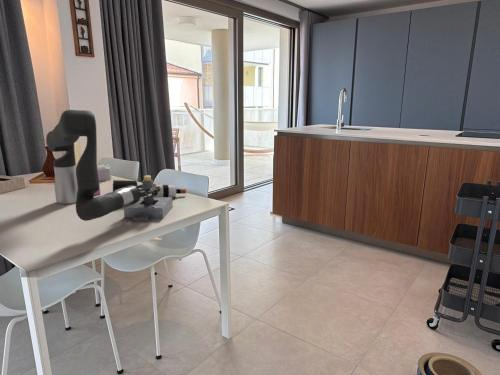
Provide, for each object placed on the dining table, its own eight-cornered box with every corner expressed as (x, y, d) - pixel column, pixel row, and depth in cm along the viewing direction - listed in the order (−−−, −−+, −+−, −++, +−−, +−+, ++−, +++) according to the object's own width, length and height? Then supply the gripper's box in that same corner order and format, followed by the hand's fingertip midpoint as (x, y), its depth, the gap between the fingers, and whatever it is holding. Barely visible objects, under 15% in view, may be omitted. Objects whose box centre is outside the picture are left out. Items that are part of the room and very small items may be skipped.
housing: (120, 221, 141) (119, 210, 139) (140, 203, 164) (140, 194, 163) (160, 221, 140) (159, 211, 139) (174, 204, 163) (174, 194, 162)
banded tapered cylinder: (185, 205, 177) (189, 190, 171) (113, 206, 163) (114, 189, 157) (182, 192, 184) (185, 177, 178) (112, 192, 170) (113, 175, 164)
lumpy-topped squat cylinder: (93, 182, 206) (92, 167, 203) (91, 177, 216) (89, 164, 214) (112, 180, 211) (111, 165, 209) (108, 176, 222) (107, 162, 219)
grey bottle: (142, 213, 150) (140, 177, 146) (146, 210, 154) (143, 174, 150) (153, 213, 150) (150, 177, 146) (156, 210, 154) (153, 175, 150)
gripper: (139, 189, 133) (164, 180, 148) (109, 186, 138) (137, 177, 153) (140, 208, 135) (165, 197, 149) (111, 204, 140) (138, 194, 155)
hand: (151, 187), depth 151 cm, fingers open, 8 cm apart
